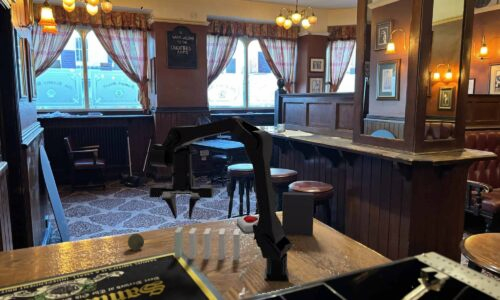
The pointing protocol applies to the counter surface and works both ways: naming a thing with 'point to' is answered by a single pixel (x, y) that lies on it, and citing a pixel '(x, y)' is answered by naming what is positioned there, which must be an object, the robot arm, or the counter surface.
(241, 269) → the counter surface
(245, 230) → the red button box
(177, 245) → the domino
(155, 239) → the counter surface
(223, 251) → the domino
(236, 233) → the domino
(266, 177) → the robot arm
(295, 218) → the dark grey upright block
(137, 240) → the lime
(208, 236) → the domino
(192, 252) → the domino
